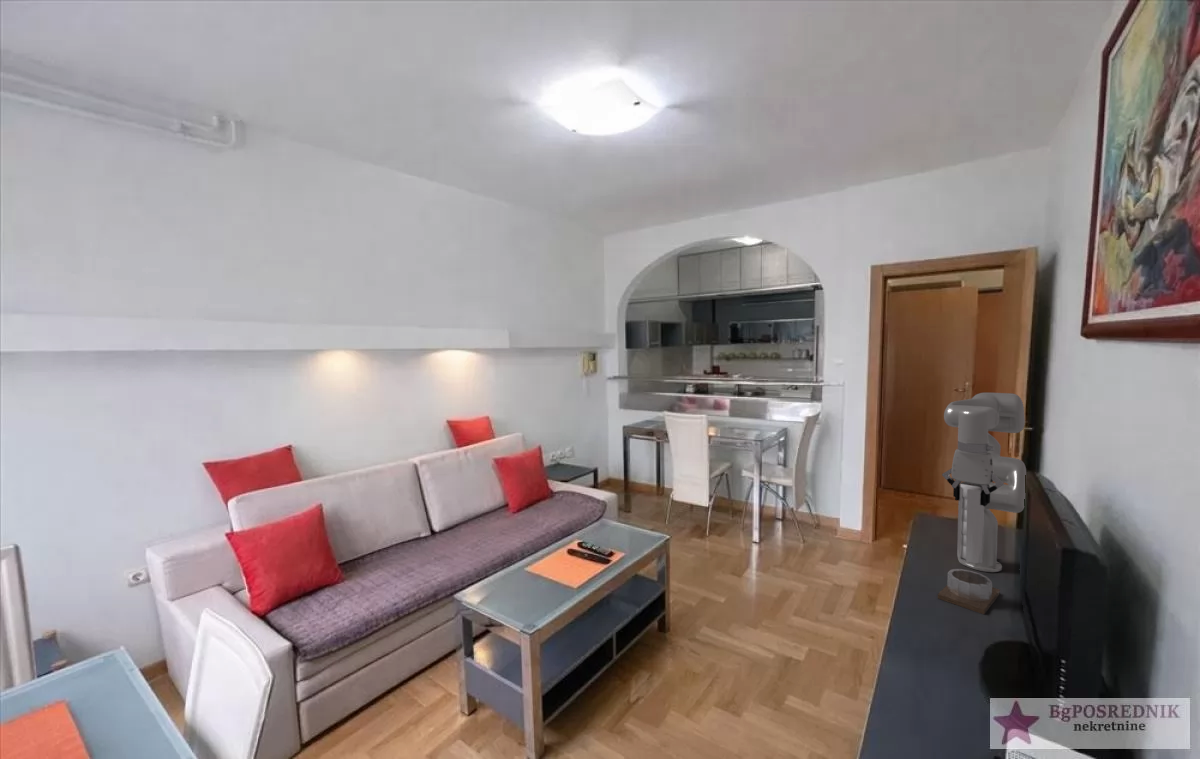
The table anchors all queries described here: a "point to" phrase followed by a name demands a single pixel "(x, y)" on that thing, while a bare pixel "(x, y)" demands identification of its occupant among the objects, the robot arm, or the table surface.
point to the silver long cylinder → (970, 523)
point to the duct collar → (969, 590)
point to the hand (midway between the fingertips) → (971, 501)
